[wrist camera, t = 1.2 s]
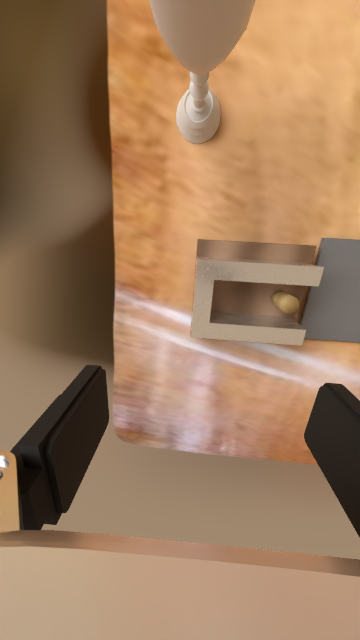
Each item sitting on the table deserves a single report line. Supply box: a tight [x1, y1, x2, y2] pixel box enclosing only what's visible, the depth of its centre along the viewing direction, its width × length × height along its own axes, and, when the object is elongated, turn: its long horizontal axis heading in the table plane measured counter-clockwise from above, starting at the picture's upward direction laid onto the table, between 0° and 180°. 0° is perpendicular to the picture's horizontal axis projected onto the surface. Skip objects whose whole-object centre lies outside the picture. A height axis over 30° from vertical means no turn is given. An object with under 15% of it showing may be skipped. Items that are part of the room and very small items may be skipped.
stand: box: [191, 239, 316, 326], centre depth 28 cm, size 14×13×6 cm
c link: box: [191, 256, 324, 346], centre depth 26 cm, size 13×9×4 cm
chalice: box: [150, 0, 255, 144], centre depth 16 cm, size 7×7×18 cm
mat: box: [299, 238, 360, 343], centre depth 30 cm, size 12×14×1 cm
